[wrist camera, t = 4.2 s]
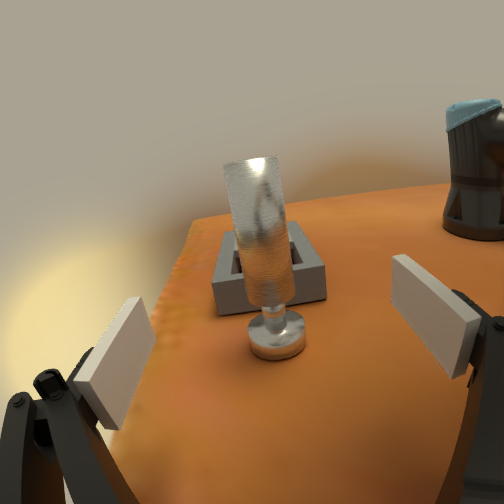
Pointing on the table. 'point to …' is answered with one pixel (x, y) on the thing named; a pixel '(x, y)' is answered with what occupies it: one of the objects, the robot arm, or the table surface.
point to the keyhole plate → (232, 282)
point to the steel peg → (265, 255)
